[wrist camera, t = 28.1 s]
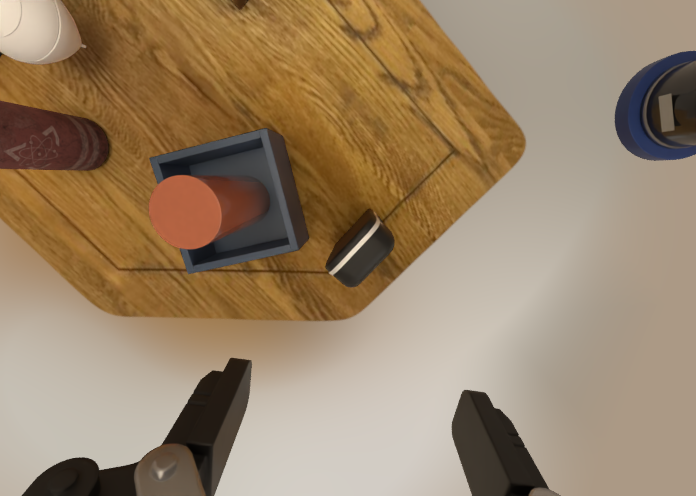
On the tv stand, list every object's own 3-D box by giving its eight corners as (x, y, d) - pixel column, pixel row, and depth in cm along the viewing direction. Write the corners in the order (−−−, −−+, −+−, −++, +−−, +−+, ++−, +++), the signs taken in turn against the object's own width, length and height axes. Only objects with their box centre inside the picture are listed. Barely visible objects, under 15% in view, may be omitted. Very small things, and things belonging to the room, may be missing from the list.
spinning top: (115, 89, 39) (9, 53, 28) (52, 75, 39) (-81, 32, 28) (120, 18, 38) (10, -53, 26) (53, 2, 38) (-86, -75, 26)
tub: (283, 135, 40) (266, 127, 33) (309, 238, 42) (298, 250, 35) (184, 160, 41) (148, 158, 34) (215, 259, 43) (187, 274, 37)
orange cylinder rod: (227, 168, 40) (155, 165, 26) (275, 183, 40) (228, 188, 26) (216, 216, 41) (142, 237, 28) (263, 231, 41) (212, 258, 28)
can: (102, 112, 40) (-34, 79, 26) (117, 166, 41) (-6, 162, 28) (55, 120, 40) (-103, 91, 27) (71, 173, 42) (-72, 172, 28)
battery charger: (354, 267, 42) (350, 299, 31) (332, 247, 42) (320, 272, 31) (393, 227, 41) (403, 245, 30) (370, 205, 41) (372, 217, 30)
